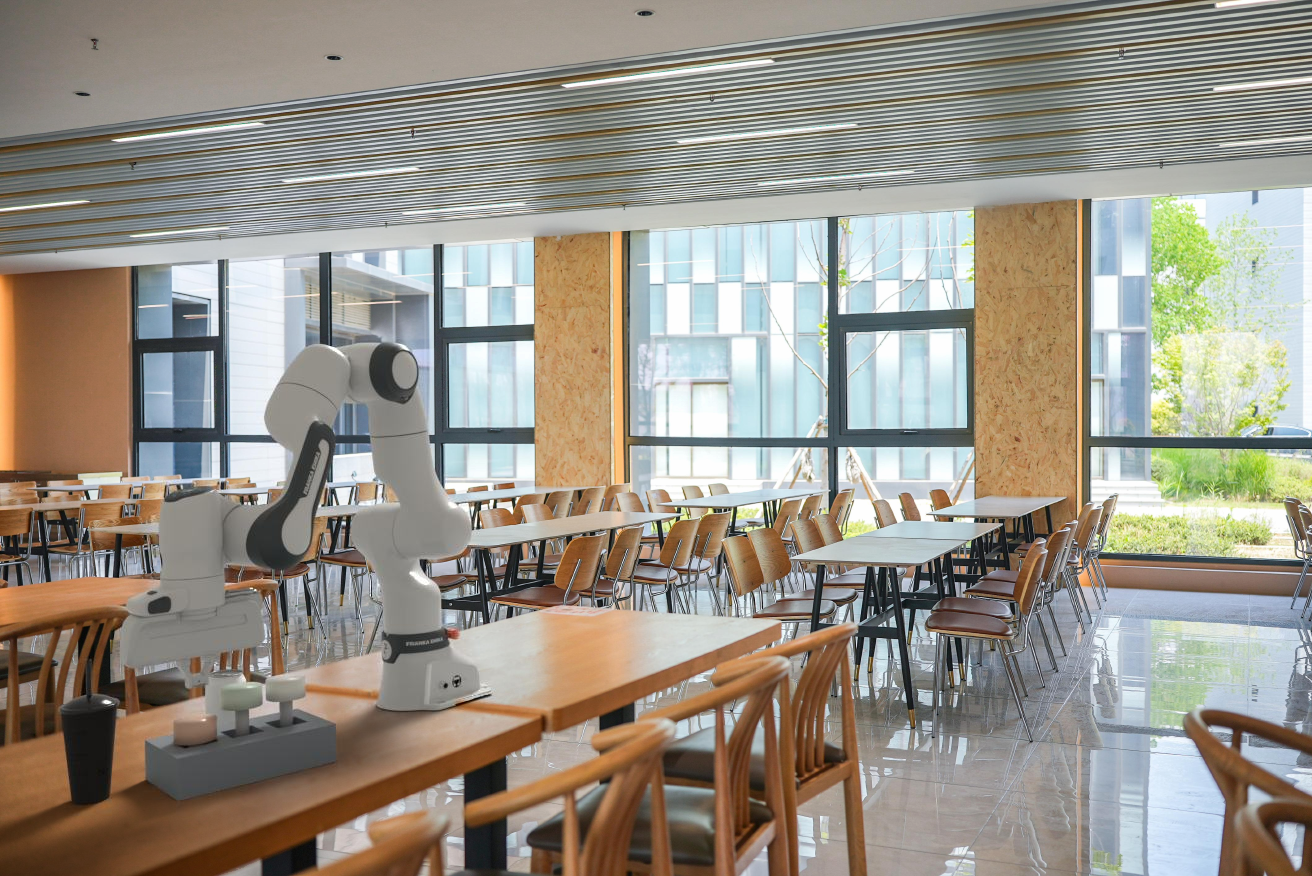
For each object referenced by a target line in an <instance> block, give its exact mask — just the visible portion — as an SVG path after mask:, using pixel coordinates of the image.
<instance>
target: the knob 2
mask: <svg viewBox="0 0 1312 876" xmlns="http://www.w3.org/2000/svg"><path fill="white" fill-rule="evenodd" d="M264 682H265V701H267V702H269V703H270V702H271V703H279V704H278V706H279V707H278V708H279V710H278V711H279V712H280V728H282V727H287V726H291V725H293V710H294V708H293V707H294V705H293V704H294V703H293V702H294V701H298V700H301V699H304V698H305V697H306V696H307V695H306V690H307V689H306V675H304V674H299V673H296V674H295V673H292V674H281V675H275V676H272V677H271V676H270V677H268V678H266V679H265V681H264ZM279 712H278V713H279Z"/></svg>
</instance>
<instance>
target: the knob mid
mask: <svg viewBox="0 0 1312 876" xmlns="http://www.w3.org/2000/svg"><path fill="white" fill-rule="evenodd" d="M263 698H264V697H263V683H262V682H259V681H246V682H242V683H234V684H229V685H226V686H223V687H221V709H222V710H226V711H235V733H236V737H240V736H245V735H249V718H250V710H251V709H255V708H259V707H261V706H262V705H263V704H264V702H263Z"/></svg>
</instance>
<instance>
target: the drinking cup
mask: <svg viewBox="0 0 1312 876" xmlns="http://www.w3.org/2000/svg"><path fill="white" fill-rule="evenodd" d="M92 683H93V682H92V659H91V658H90V659H89V658H88V659H85V686H86V687H85V690H86V691H85V692H86V694H85V695H81V696H78V697H75V698H72V699H70V700H68V701H67V702H66V703H64V704H61V705H59V707H58V713H59V714H60V716H61V727H62V734H63V741H64V750H65V758H66V766H67V775H68V783H69V791H70V798H71V799H70V800H71V803H72V804H73V805H81V806H83V805H91V804H96V803H100V802H102V801H105V800H107V799H109V798H110V796H111V790H112V789H111V787H112V778H113V777H112V775H113V764H114V763H113V762H114V750H115V736H116V726H117V725H116V723H117V713H118V706H119V705H120V699H118V698H117V697H116V698H115V697H112V696H109V695H106V694H98V693H93V690H92V689H93V686H92ZM108 797H109V798H108Z"/></svg>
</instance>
